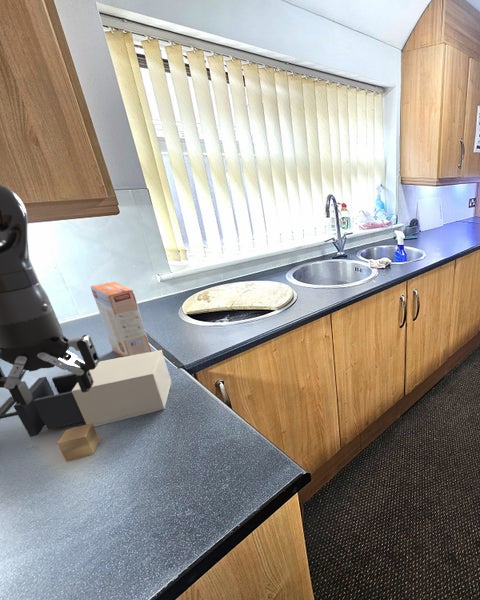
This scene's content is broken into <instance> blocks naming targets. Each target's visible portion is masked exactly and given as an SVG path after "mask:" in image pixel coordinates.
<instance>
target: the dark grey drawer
mask: <svg viewBox="0 0 480 600" xmlns="http://www.w3.org/2000/svg"><path fill="white" fill-rule="evenodd" d="M75 376H76V374H74V373H69V374H64V375H58V376H53V377H52V378H51V382H52V383H53V385H54V388H55V390H56V392H57V393H56V394H55V392H54V390H53V388H52V386H51V384H50V382H49V379H48V378H47V376H42V377H38V378H37V379H36V381H35V382H34V383H33V384H32V385H31V386H30V387H28V388H29V390H30V392H31V394H32V396H33V400H32V401H31V402H30V403H29V404H28V405H24V406H21V404H20V403H19V404H17V403H16V402H15V401H14V399H13V397H12V395H11V396H10V397H8V399H7V400H5V401H4V403H3V404H2V405H1V406H0V420H2V419H6V418H10V417H16V416H18V418H19V419H20V421H21V424H22V425H23V427H24V428H25V431H26V433H27V435H28V437H29V438H34V437H37V436H39V434H40V433H41V431H42V430H43V429H44V428H45V427H46V429H47V430H48V431H49V430H53V429H57V428H61V427H65V426H70V425H74V424H77V423H81V422H85V420H84V418H83V416H82V413H81V411H80V409H79V407H78V404H77V402H76V400H75V398H74V395H73V393H72V390H73V388H74V387H75V385H76V384H77V383H78V382H77V379H76V377H75ZM12 408H14V410H15V411H13V412H9V411H10V410H11V409H12Z"/></svg>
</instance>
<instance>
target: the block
mask: <svg viewBox="0 0 480 600" xmlns="http://www.w3.org/2000/svg"><path fill="white" fill-rule="evenodd" d="M100 441H101V440H100V437H99V435H98V432H97V430H96V428H95V427H94V426H93V423H91V424H84V425H83V424H82V425H79V426H75V427H71V428H67V429H65V430H64V432H63V434H62V435H61V437H60V439H58V441H57V443H56V444H57V446H58V448H59V451H60V452H61V454H62V457H63V458H64V460H65V462H66V463H67V462H71V461H74V460H77V459H81V458H84V457H87V456H91V455H94V454H95V451H96V450H97V447H98V445H99V443H100Z"/></svg>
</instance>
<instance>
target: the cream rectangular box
mask: <svg viewBox="0 0 480 600" xmlns="http://www.w3.org/2000/svg"><path fill="white" fill-rule="evenodd" d="M89 371H90V374H91V376H92V378H93V381H94V382H93V385H92V387H91V388H90V390H89V391H88V392H84V393H83V392H82V391H81V388H80V386H79V384H78V383H77V384H76V385H75V387H74V388H73V390H72V393H73V395H74V398H75V400H76V402H77V404H78V407H79V409H80V411H81V413H82V416H83V418H84V420H85V421H84V422H85V425H87V424H91V423H93V426H94V428H95V427H99V426H103V425H108V424H111V423H114V422H119V421H124V420H127V419H131V418H135V417H140V416H143V415H147V414H151V413H155V412H160V411H162V410H165V409H166V405H167V401H168V397H169V393H170V389H171V386H172V379H171V375H170V371H169V369H168V366H167V362H166V360H165V356H164V353H163V350H162V349H159V350H153V351H151V352H147V353H142V354H137V355H131V356H126V357H121V356H120V357H117V358H111V359H105V360H100V361H99V363H98V364H97V366H96V367H95V369H93V370H89Z"/></svg>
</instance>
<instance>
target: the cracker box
mask: <svg viewBox="0 0 480 600" xmlns="http://www.w3.org/2000/svg"><path fill="white" fill-rule="evenodd" d="M90 290H91V292H92V295H93V298H94V301H95V304H96V307H97V309H98V313H99V315H100V318H101V320H102V324H103V327H104V329H105V332H106V335H107V338H108V341H109V343H110V346H111V350H112V351H113V352H114V353H115V354H117V355H118V356H119V357H120V358H121V357H126V356H131V355H137V354H142V353H147V352H152V348H151V345H150V341H149V338H148V336H147V332H146V329H145V326H144V322H143V320H142V315H141V312H140V309H139V305H138V302H137V299H136V296H135V292H134V289H131V288H129V287H128V286H124V285H122V284H120V283H118V282H116V281H109V282H105V283H100V284H95V285H91V286H90Z"/></svg>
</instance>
